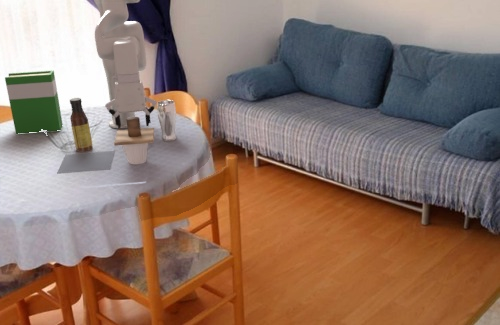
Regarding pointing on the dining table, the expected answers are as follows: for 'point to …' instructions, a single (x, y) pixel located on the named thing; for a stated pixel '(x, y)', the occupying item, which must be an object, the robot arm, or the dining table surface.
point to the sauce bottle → (80, 126)
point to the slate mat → (86, 162)
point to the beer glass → (167, 119)
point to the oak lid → (134, 133)
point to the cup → (136, 153)
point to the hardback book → (34, 101)
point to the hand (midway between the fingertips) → (133, 126)
